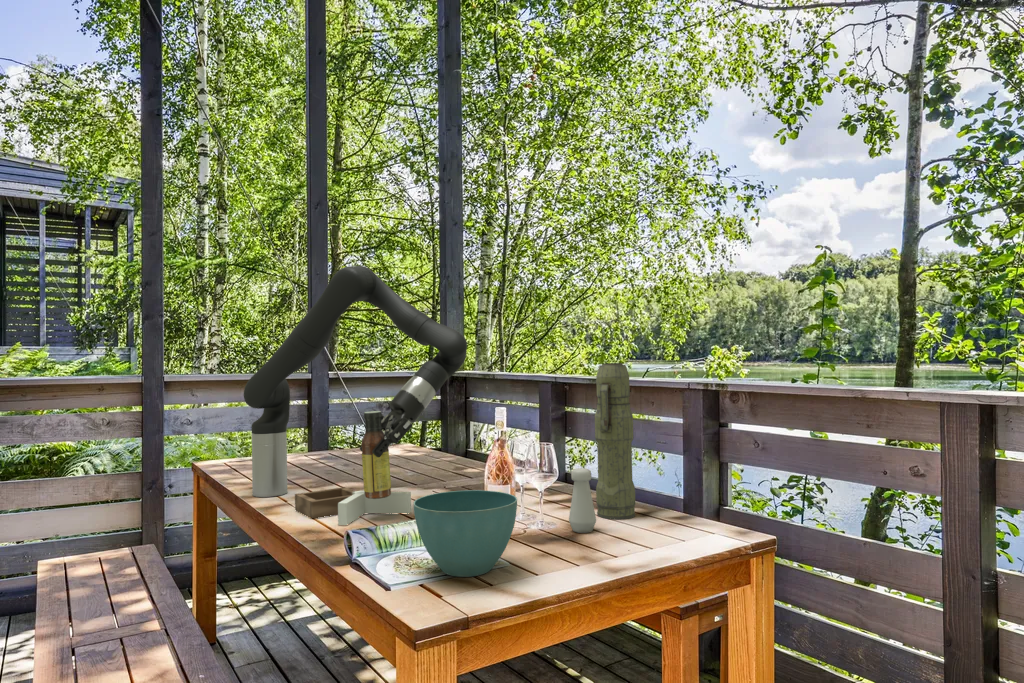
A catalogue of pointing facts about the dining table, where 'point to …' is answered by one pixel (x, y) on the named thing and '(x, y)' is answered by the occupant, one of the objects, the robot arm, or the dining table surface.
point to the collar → (321, 502)
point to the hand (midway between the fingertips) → (369, 453)
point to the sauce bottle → (375, 459)
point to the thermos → (614, 443)
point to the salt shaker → (582, 502)
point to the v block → (372, 505)
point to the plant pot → (465, 529)
